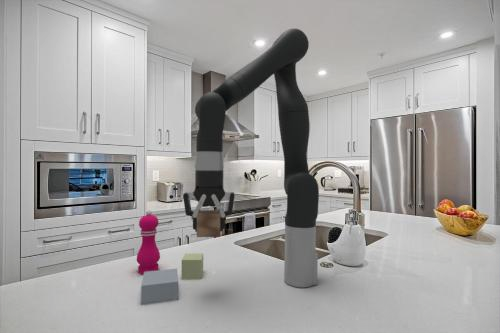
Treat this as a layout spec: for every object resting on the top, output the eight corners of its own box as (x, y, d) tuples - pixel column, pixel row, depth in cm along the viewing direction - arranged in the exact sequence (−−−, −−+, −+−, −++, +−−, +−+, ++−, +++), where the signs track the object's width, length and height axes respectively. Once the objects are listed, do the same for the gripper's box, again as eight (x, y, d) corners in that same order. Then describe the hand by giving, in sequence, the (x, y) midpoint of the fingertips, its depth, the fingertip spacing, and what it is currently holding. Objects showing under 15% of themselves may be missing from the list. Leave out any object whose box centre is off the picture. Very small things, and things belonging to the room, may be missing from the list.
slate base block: (176, 285, 78) (177, 268, 78) (178, 300, 69) (178, 281, 69) (143, 289, 75) (144, 271, 75) (141, 305, 67) (141, 285, 67)
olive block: (203, 271, 88) (203, 253, 88) (201, 279, 82) (201, 259, 82) (184, 271, 88) (185, 253, 88) (181, 279, 82) (181, 260, 82)
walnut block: (220, 231, 75) (220, 209, 75) (219, 236, 69) (220, 213, 69) (199, 231, 75) (199, 210, 75) (196, 237, 69) (196, 214, 69)
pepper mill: (134, 276, 83) (135, 212, 83) (138, 267, 90) (138, 208, 90) (159, 274, 85) (159, 211, 85) (160, 265, 92) (161, 208, 92)
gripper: (235, 168, 76) (235, 227, 76) (184, 168, 75) (184, 227, 75) (236, 169, 69) (236, 234, 69) (179, 169, 68) (179, 235, 68)
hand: (209, 230), depth 72 cm, fingers closed on walnut block, 6 cm apart
